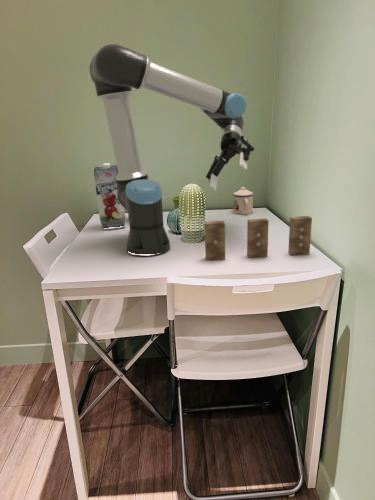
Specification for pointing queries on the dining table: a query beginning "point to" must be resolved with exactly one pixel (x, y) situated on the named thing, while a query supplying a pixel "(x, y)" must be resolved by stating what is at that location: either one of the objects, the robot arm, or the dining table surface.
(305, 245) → the tile
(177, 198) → the plant pot
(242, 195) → the teacup with lid
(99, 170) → the juice carton
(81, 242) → the dining table surface
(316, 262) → the dining table surface
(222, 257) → the tile
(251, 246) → the tile
